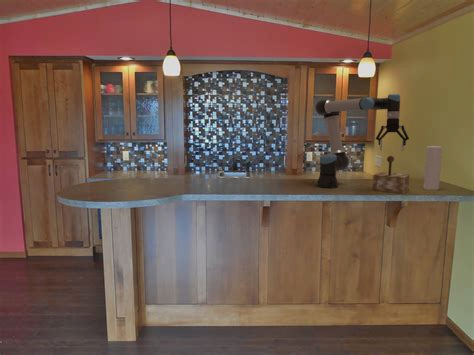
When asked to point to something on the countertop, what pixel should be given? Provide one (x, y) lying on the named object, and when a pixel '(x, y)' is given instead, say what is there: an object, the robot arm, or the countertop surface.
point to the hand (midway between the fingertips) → (391, 150)
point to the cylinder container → (432, 167)
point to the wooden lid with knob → (395, 175)
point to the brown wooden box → (390, 184)
